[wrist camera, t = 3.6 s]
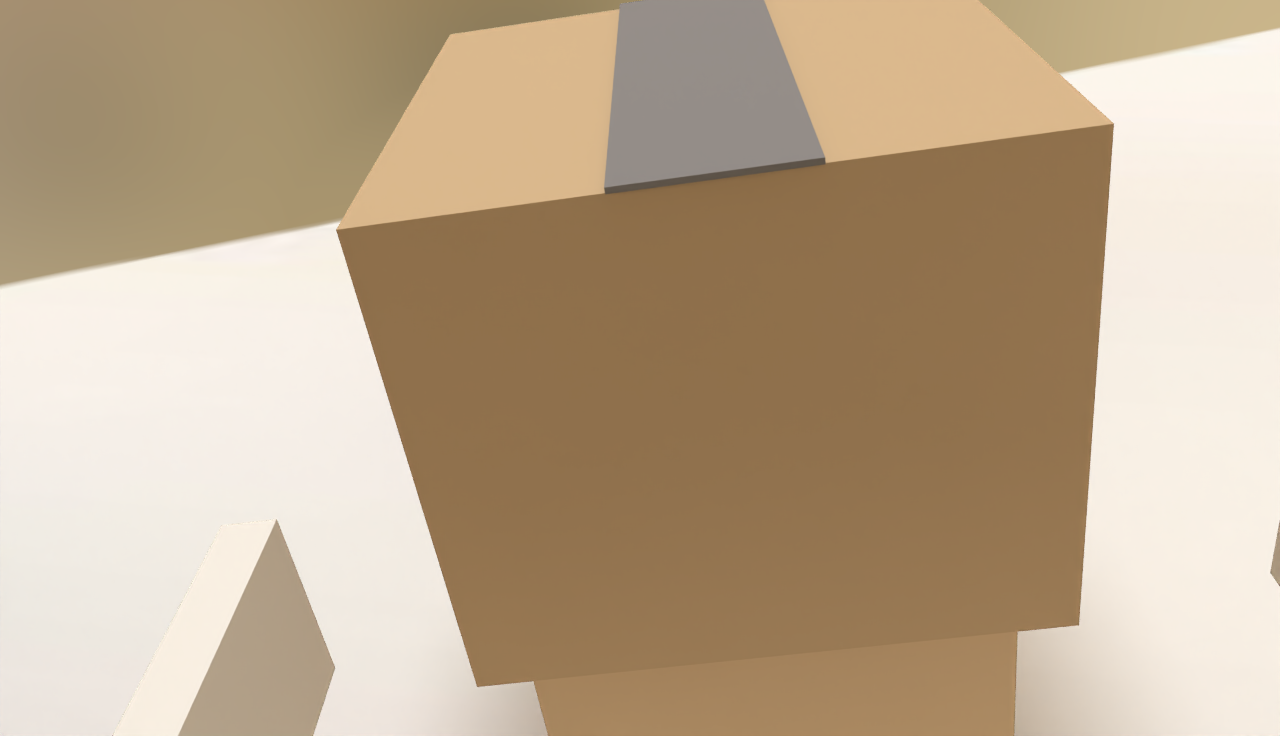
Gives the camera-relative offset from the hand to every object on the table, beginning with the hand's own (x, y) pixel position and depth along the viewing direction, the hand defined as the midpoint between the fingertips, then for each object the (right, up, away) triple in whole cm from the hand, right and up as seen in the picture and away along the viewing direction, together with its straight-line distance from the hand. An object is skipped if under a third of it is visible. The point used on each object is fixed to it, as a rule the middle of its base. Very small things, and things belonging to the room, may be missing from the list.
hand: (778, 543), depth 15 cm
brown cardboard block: (+1, 0, +10) cm, 10 cm away
